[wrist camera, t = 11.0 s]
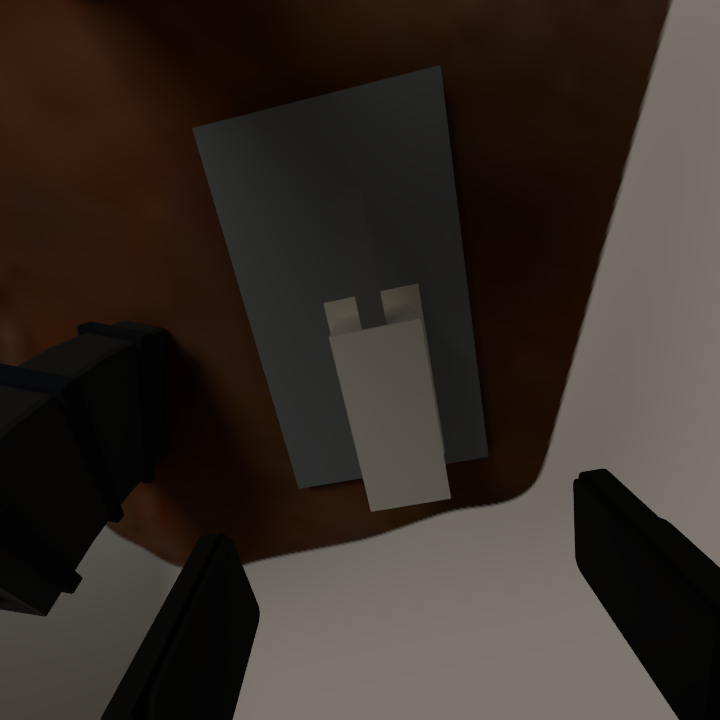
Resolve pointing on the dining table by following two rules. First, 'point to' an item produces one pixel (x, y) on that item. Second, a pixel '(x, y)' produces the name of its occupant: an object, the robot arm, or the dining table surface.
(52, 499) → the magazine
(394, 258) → the board
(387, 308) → the plug
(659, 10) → the dining table surface
